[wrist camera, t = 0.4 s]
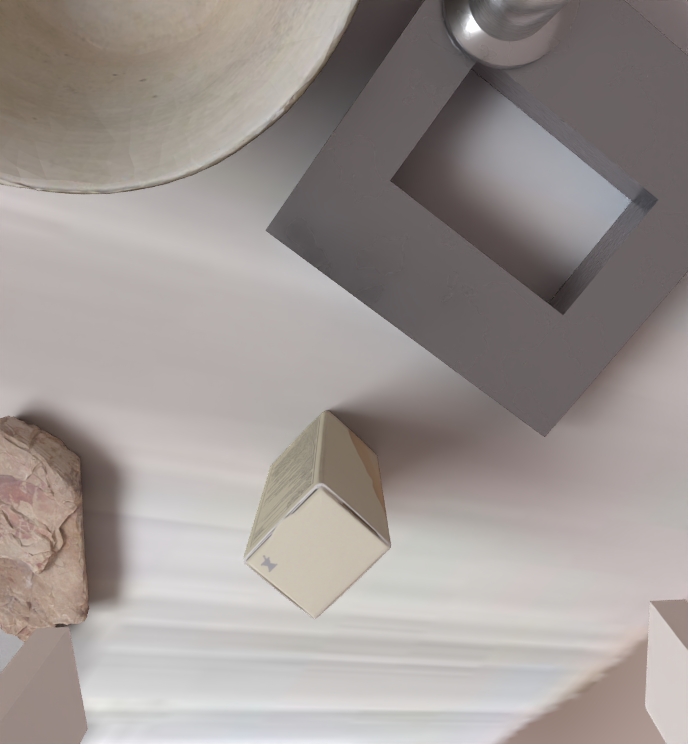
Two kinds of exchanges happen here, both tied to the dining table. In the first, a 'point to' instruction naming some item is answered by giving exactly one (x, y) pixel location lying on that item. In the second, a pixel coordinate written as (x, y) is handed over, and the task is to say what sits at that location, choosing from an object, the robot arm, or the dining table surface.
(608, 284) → the square recessed tray
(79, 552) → the stone
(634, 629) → the dining table surface
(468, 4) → the round door knob
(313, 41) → the bowl
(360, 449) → the box
